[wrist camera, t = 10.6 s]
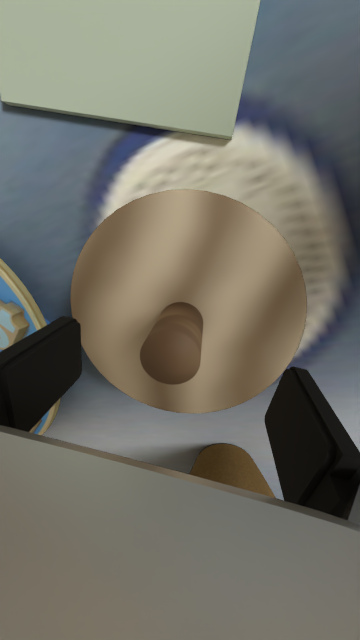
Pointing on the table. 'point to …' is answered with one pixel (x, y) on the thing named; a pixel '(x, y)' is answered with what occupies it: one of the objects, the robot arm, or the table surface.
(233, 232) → the lid
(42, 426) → the shape sorting clock
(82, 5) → the mat
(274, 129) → the table surface
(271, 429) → the robot arm
